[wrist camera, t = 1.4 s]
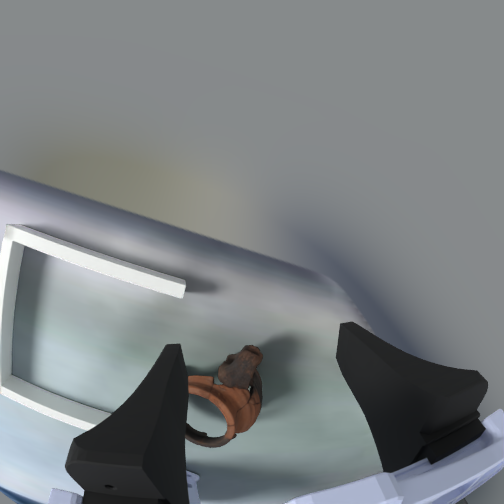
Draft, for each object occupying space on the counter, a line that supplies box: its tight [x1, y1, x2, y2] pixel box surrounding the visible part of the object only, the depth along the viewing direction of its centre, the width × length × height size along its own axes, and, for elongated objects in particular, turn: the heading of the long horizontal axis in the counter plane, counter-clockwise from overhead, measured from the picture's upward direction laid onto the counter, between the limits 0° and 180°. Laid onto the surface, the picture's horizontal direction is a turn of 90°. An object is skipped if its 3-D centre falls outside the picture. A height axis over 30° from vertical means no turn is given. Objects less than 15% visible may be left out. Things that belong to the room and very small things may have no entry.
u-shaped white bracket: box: [0, 224, 186, 431], centre depth 25 cm, size 18×18×3 cm
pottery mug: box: [185, 345, 263, 448], centre depth 28 cm, size 12×10×8 cm
